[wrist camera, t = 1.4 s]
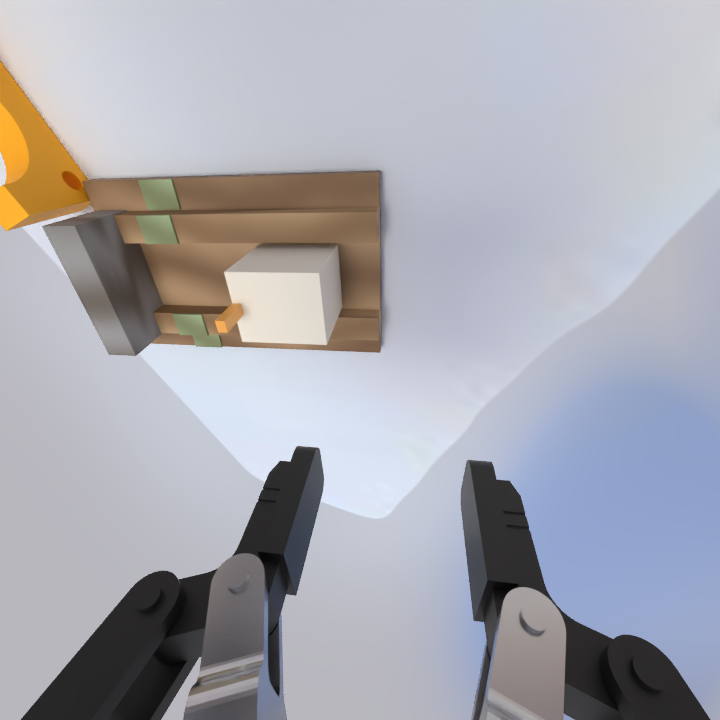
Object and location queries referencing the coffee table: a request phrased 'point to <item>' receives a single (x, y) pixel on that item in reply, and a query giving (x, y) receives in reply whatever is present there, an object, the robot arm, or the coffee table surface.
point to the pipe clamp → (34, 164)
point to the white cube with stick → (284, 294)
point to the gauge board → (215, 252)
